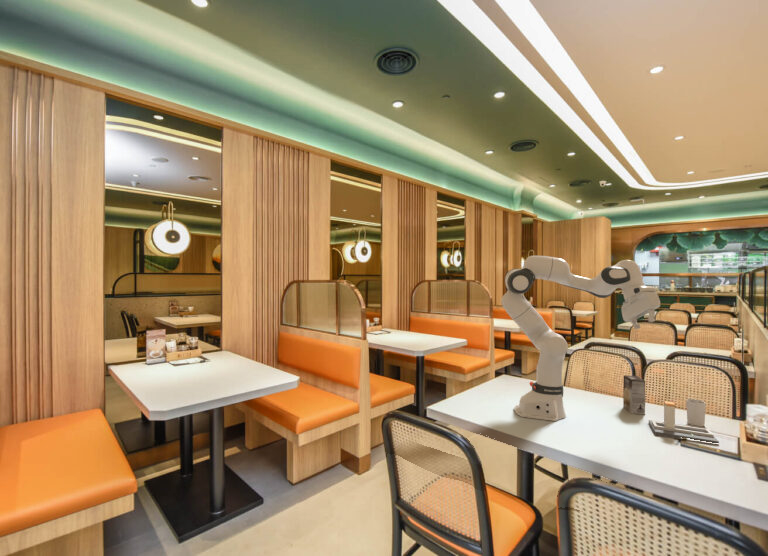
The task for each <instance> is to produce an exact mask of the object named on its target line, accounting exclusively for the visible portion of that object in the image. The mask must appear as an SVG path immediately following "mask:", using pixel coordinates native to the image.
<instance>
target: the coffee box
mask: <svg viewBox="0 0 768 556" xmlns="http://www.w3.org/2000/svg"><path fill="white" fill-rule="evenodd" d="M622 392H623V393H622V394H623V395H622V396H623V397H622V398H623V404H622V405H623V406H622V407H623V408H624V409H625V410H626V411H628V412H629V413H630V414H633V415H634V414H635V415H645V414H646V380H644V379H643V378H641V377H640V376H638V375H623V391H622Z"/></svg>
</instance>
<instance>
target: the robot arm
mask: <svg viewBox="0 0 768 556" xmlns="http://www.w3.org/2000/svg"><path fill="white" fill-rule="evenodd" d="M570 268H571V267H570V265H569V263H568V261H566V260H565V259H563V258H560V257H555V256H548V255H530V256H528V257H527V258H526V259H525V261H524V263H523V265H522V267H521V268H512V269H510V270H508V271H507V272H506V273H505V275H504V284H505V290H506V292H505V293H504V294H503V295H502V297H501V300H500V303H501V306H502V307H503V309H504V310H505V312H506V314H507V315H508V316H509V317H510V318H511V319H512V320H513V322H514V323H515V324H516V325H517V326H518V327H519V328H520V329H521V331H522V332H523V333H524V334H525V336H526V337H527V339H528V340H529V341H530V342H531V343H532V344H533V346H534V347H535V348H536V349H537V350H538V351H539V357H538V362H537V364H536V382H534V381H529V382H528V383H529V386H530V387H531V390H530V391H528V392H526V393H525V394H523V395H521V397H520V398H519V401H518V402H519V404H516V405H514V412H515V414H516V415H518V416H519V417H522V418H527V419H528V418H529V419H537V420H544V421H553V422H557V421H559V420H561V419H564V418H566V416H567V415H566V412H565V407H564V402H563V401H564V400H563V398H564V385H563V366H564V361H565V358H566V357H565V356H566V354H567V353H568V350H569V344H568V342H567V340H566V339H565V338H564V336H563V335H562V334H559V333H556V332H555V331H554V330H553V329H552V328H550V326H549V325H548V324H547V323H546V321H545V320H544V318H543V316H542V315H541V314H540V313H539V312H538V311H537V309H536V308H534V306H533V305H532V304H531V303H530V301H528V299H527V298H526V297H525V293H527V292H528V291H529V290H530V289H531V288H532V286H533V284H534V282H535V281H536V280H543V281H549V282H554V283H557V284H559V285H561V286H564V287H567V288H570V289H575V290H578V291H583V292H587V293H588V294H591V295H593V296H595V297H597V298H600V299H604V298H606V299H607V298H608V297H609V298H610V296H611V295H613V293H614V292H615V291H616V290H617V289H621V291H622V294H623V299H624V301H623V302H622V305H621V307H620V308H621V310H620V311H621V315H622V320H623V321H624V322H625V323H627V322H628V323H631V324H632V326H633V328H634V330H638V329H641V324H640V323H638V319H639V318H641V317H643V316H645V315H647V314H648V317H647V320H648V321H647V322H649V323H653V322H655V321H656V319H655V315H656V314H655V313H656V311H655V310H658V308H660V307H661V300H660V297H659V294H658V292H657V288H656V286H646V285H645V283H644V277H643V274H642V271H641V268H640V267H639V265H638V263H637V262H636V261H634V260H630V259H623V260H620V261H618V262H617V263H616V264H613V265H611V266H607V267H604V268H603V269H601V271H600V272H598V275H596V277H595V276H594V277H593V278H588V277H585V276H584V277H583V276H580V275H575V274H574V273H572V272H571V269H570Z"/></svg>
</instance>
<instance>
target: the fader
mask: <svg viewBox="0 0 768 556" xmlns="http://www.w3.org/2000/svg"><path fill="white" fill-rule="evenodd" d="M663 422H664V427H670V428H675V424H676V403H674V402H673V401H666V400H664V401H663Z"/></svg>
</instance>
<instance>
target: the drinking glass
mask: <svg viewBox="0 0 768 556" xmlns="http://www.w3.org/2000/svg"><path fill="white" fill-rule="evenodd" d="M685 401H686V402H685V403H686V405H685V406H686V420H687V424H689V425H690V426H691V425H692V426H694V427H705V421H706V408H707V407H706V405H707V404H706V402H705V401H703V400H701V399H695V398H686V400H685Z"/></svg>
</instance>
